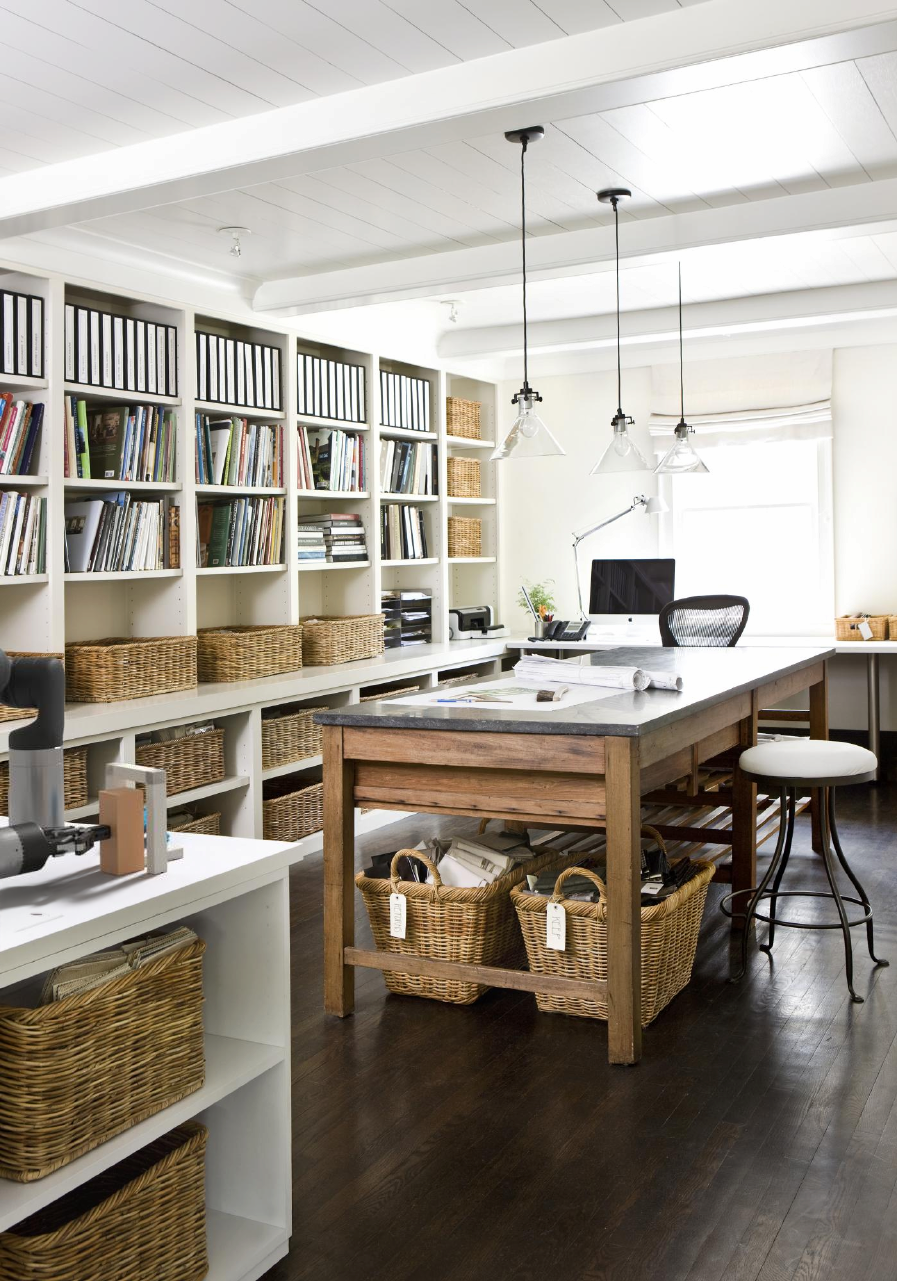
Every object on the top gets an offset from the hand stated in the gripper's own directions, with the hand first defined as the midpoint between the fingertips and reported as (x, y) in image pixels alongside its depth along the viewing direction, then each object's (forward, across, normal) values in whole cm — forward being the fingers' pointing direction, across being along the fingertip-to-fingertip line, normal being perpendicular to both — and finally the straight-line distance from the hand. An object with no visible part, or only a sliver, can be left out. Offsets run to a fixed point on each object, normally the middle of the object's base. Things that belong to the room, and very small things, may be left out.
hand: (108, 831), depth 185 cm
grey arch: (+5, 0, +7) cm, 9 cm away
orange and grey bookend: (+7, 0, +7) cm, 10 cm away
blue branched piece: (+17, +13, +7) cm, 23 cm away
